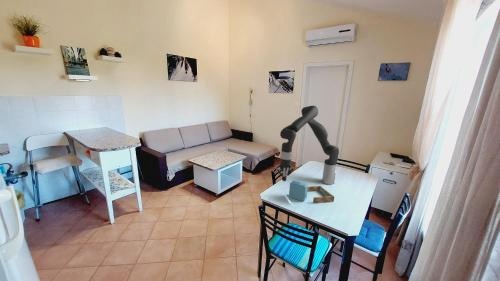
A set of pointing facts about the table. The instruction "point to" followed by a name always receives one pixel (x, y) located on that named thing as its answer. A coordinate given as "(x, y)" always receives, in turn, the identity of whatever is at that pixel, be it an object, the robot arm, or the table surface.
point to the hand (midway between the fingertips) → (283, 180)
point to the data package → (298, 190)
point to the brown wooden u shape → (328, 197)
